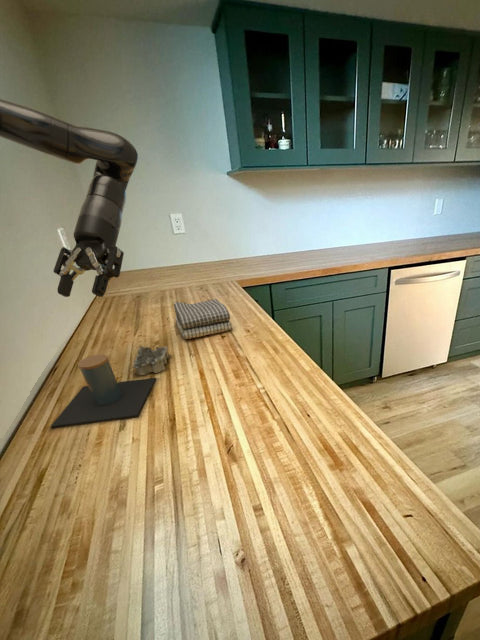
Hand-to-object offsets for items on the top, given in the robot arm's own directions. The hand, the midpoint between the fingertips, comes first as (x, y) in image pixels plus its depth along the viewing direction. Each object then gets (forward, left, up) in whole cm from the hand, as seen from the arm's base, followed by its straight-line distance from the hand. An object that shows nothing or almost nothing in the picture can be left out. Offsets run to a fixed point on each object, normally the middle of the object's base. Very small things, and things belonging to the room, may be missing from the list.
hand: (80, 295), depth 68 cm
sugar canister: (0, -5, -22) cm, 22 cm away
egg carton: (+6, +10, -23) cm, 26 cm away
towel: (+16, +33, -23) cm, 43 cm away
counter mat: (0, -5, -23) cm, 23 cm away
